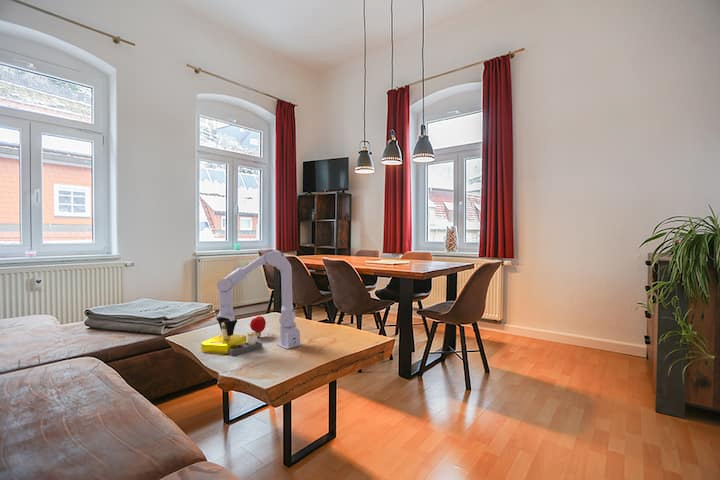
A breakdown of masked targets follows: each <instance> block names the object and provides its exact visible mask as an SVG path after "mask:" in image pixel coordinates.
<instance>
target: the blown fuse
mask: <svg viewBox="0 0 720 480" xmlns="http://www.w3.org/2000/svg"><path fill="white" fill-rule="evenodd" d="M221 327H222V332H221V334H222V339H229V338H230V336H228V335H227V330H226V326H225V324H224V322H223V323H221Z"/></svg>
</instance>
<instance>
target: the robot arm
mask: <svg viewBox="0 0 720 480" xmlns="http://www.w3.org/2000/svg"><path fill="white" fill-rule="evenodd" d="M262 265H265V266H266V265H270V266H273V267H275V268H277V270H279V271H280V280H281V281H280V282H281V284H280V286H281V289H280V291H281V309H280V311H281V312H280V313H281V314H280V315H279V319H278V321H279V334H280V335H279V339H280V340H279V341H280V342H277V343H276V345H277V346H280V347H282V348H283V349H286V350H288V349H289V350H290V349H291V348H296V347H300V346H302V343H301V335H300V334H301V333H300V330H299V328H297V323H296V322H295V319H296V312H295V310H294V305H293V276H292V271H293V269H292V268H293V267H292V264H291V263H290V261H289V260H288V259H287V257H286V255H285V254H284V253H283V252H282V251H280V250H279V249H274V250H272V251H271V250H270V251H268V252H266V253H265V254H263V255H260V256H259V257H257V258H255V259H254V260H253V261H252V262H249V264H247V265H246V266H244V267H237V268H234V269H233V271H232V272H230V273H229V274H226V275H224V277H223V278H219V280H218V282H217V283H216V288H217V290H218V302H219V303H218V304H219V307H218V309H219V311H218V314H217V315H216V316H217V317H216V318H215V319H216V321H217V322H218V325H219V328H220V331H221V333H222V327H221V323H223V322H224V324H225V326H226V330H227V335H228V336H232V335H234V330H235V327H236V324H237V323H238V319H236V317H235V315H234V302H233V300H234V299H233V287H234V286H236V285H238V284H239V283H241V282H243V281H244V280H245V279H247V278H248V274H249V273H250V272H252V271H253V270H256V269H257V268H258V267H261V266H262Z"/></svg>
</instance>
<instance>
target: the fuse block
mask: <svg viewBox="0 0 720 480" xmlns="http://www.w3.org/2000/svg"><path fill="white" fill-rule="evenodd" d="M260 349H263V342H260V341H259V340H257V339H256V345H251V346H248V342H247V343H243V344H239V345H235V346H234V350H233V349H231V348H228V355H229V356H231V357H233V356H236V355H241V354H245V353H249V352H253V351H257V350H260Z"/></svg>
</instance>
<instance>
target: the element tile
mask: <svg viewBox="0 0 720 480" xmlns="http://www.w3.org/2000/svg"><path fill="white" fill-rule="evenodd" d="M243 343H248V340H247V335H245V334H233V335H232V336H230V338H229V339H222V333H219V334H216V335H215V336H212V337H211V338H208V339H207V340H204V341H202V342H201V345H200V346H201V349H200V350H201V352H202V353H207V354H208V353H210V354H219V355H220V354H221V355H222V354H223V355H227V354H228V348H231V349H233V350H234V346H235V345H239V344H243ZM228 355H229V354H228Z"/></svg>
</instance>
